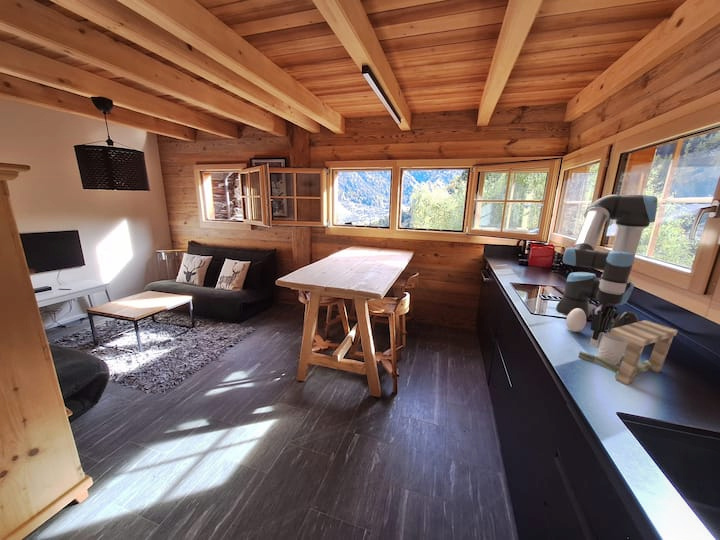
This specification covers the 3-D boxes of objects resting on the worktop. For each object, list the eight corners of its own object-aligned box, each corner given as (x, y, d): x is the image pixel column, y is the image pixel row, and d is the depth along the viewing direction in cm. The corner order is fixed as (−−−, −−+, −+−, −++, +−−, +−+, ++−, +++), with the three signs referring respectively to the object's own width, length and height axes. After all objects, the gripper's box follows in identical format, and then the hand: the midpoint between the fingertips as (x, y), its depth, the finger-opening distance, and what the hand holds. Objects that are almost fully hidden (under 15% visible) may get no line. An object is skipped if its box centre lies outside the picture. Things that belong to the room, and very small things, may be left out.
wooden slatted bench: (605, 347, 122) (616, 310, 118) (662, 371, 106) (677, 330, 102) (571, 357, 112) (581, 318, 108) (628, 386, 96) (643, 341, 92)
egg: (562, 330, 136) (567, 307, 133) (566, 326, 141) (572, 304, 138) (580, 336, 131) (587, 312, 128) (584, 332, 136) (591, 309, 133)
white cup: (594, 352, 117) (601, 330, 114) (619, 359, 113) (627, 336, 110) (595, 360, 111) (603, 337, 108) (622, 368, 107) (630, 345, 104)
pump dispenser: (604, 343, 126) (614, 311, 122) (606, 335, 133) (615, 305, 129) (636, 352, 119) (647, 319, 115) (635, 343, 127) (646, 312, 123)
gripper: (608, 286, 115) (593, 339, 121) (589, 289, 110) (574, 344, 116) (631, 293, 108) (614, 348, 114) (612, 296, 103) (595, 353, 109)
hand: (594, 346), depth 115 cm, fingers closed
